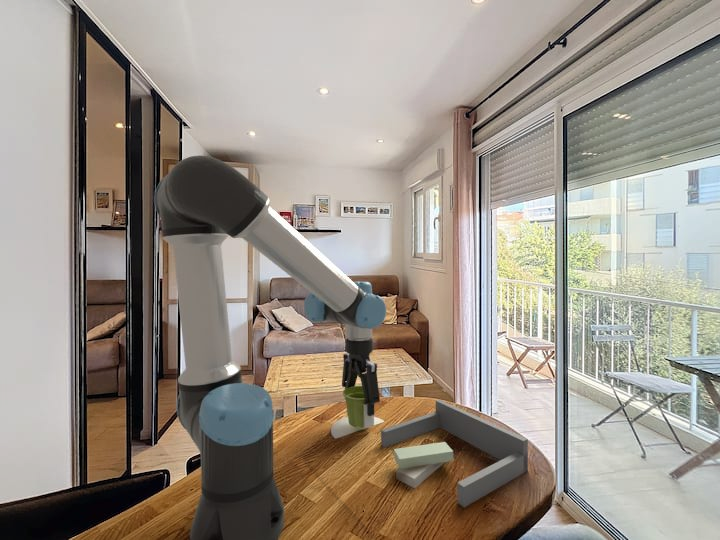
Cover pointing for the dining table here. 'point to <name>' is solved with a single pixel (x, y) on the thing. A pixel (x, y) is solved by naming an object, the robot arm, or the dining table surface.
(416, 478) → the block
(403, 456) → the offcut top
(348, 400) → the plant pot
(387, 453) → the dining table surface
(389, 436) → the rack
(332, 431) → the mat
